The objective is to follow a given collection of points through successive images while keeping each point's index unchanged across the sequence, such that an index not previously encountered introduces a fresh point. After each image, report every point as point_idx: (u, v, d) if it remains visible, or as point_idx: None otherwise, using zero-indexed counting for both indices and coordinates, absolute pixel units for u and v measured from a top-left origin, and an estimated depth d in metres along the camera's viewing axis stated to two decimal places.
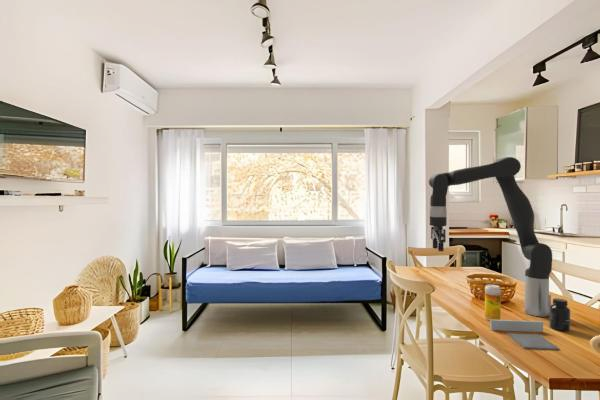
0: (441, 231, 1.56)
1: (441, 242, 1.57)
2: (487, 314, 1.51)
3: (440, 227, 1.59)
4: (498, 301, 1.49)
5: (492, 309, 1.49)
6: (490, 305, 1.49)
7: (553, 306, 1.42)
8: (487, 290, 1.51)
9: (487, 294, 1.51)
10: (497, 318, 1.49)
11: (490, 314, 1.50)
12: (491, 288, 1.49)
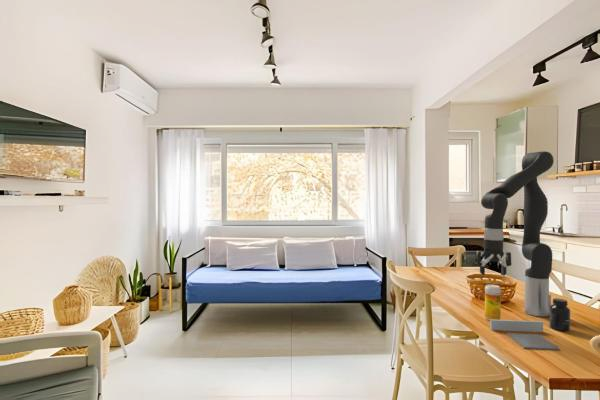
0: None
1: None
2: (487, 314, 1.51)
3: None
4: (498, 301, 1.49)
5: (492, 309, 1.49)
6: (490, 305, 1.49)
7: (553, 306, 1.42)
8: (487, 290, 1.51)
9: (487, 294, 1.51)
10: (497, 318, 1.49)
11: (490, 314, 1.50)
12: (491, 288, 1.49)
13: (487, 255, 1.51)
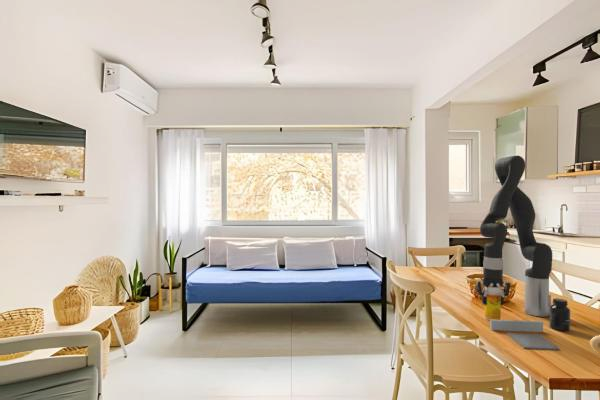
0: None
1: None
2: (487, 314, 1.51)
3: None
4: (498, 301, 1.49)
5: (492, 309, 1.49)
6: (490, 305, 1.50)
7: (553, 306, 1.42)
8: None
9: (487, 294, 1.51)
10: (497, 318, 1.49)
11: (490, 314, 1.50)
12: (491, 288, 1.50)
13: (487, 284, 1.51)
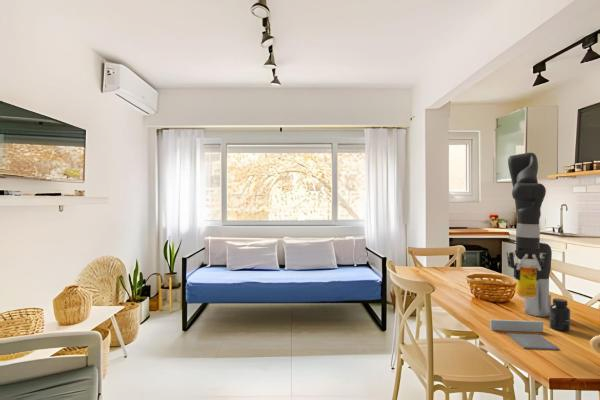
0: None
1: None
2: (520, 290, 1.29)
3: None
4: (534, 275, 1.27)
5: (527, 284, 1.28)
6: (525, 280, 1.28)
7: (553, 306, 1.42)
8: None
9: (520, 267, 1.29)
10: (532, 295, 1.27)
11: (524, 290, 1.28)
12: (526, 260, 1.28)
13: (520, 256, 1.29)
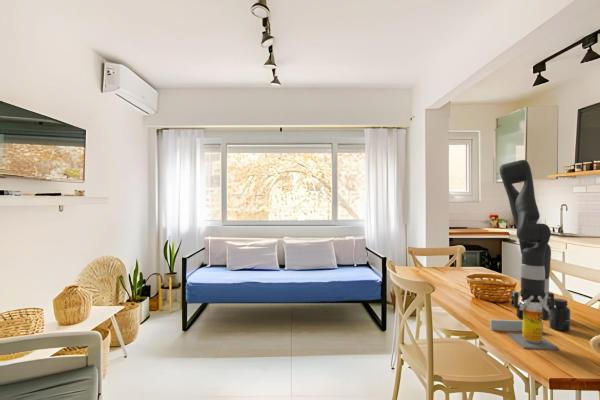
0: None
1: None
2: (526, 334, 1.28)
3: None
4: (540, 319, 1.26)
5: (532, 328, 1.26)
6: (530, 324, 1.26)
7: None
8: (526, 306, 1.28)
9: (526, 310, 1.28)
10: (538, 339, 1.26)
11: (529, 334, 1.27)
12: (531, 303, 1.26)
13: (526, 296, 1.27)
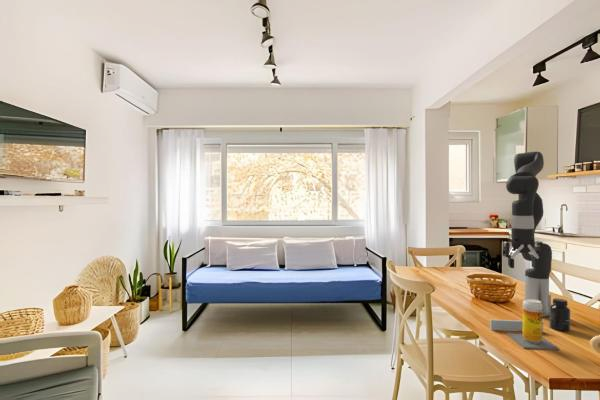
0: None
1: None
2: (526, 334, 1.28)
3: None
4: (540, 319, 1.26)
5: (533, 328, 1.26)
6: (530, 324, 1.26)
7: (553, 306, 1.42)
8: (526, 306, 1.28)
9: (526, 310, 1.28)
10: (538, 339, 1.26)
11: (530, 334, 1.27)
12: (531, 304, 1.26)
13: (516, 246, 1.34)
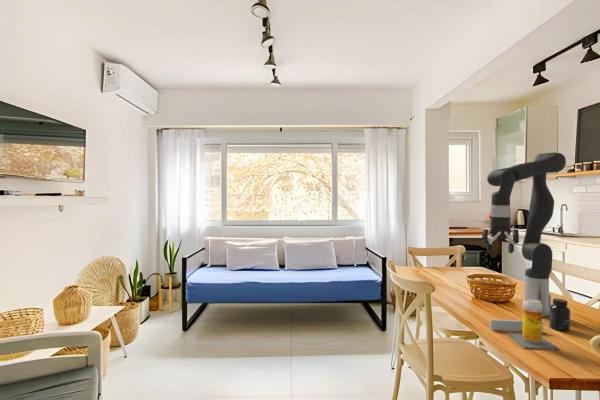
0: None
1: None
2: (526, 334, 1.28)
3: None
4: (540, 319, 1.26)
5: (533, 328, 1.26)
6: (530, 324, 1.26)
7: (553, 306, 1.42)
8: (526, 306, 1.28)
9: (526, 310, 1.28)
10: (538, 339, 1.26)
11: (530, 334, 1.27)
12: (531, 304, 1.26)
13: (494, 233, 1.48)
